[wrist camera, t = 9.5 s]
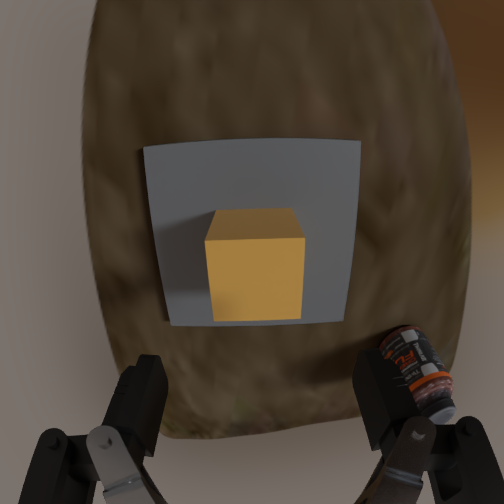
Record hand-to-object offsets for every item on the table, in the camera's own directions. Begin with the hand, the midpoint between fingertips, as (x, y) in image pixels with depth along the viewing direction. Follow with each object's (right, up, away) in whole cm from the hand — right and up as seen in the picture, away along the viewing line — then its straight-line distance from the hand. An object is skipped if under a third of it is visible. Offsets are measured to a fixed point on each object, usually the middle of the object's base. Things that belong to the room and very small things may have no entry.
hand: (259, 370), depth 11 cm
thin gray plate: (0, +6, +13) cm, 14 cm away
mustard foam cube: (0, +5, +12) cm, 13 cm away
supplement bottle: (+16, -6, +18) cm, 25 cm away
